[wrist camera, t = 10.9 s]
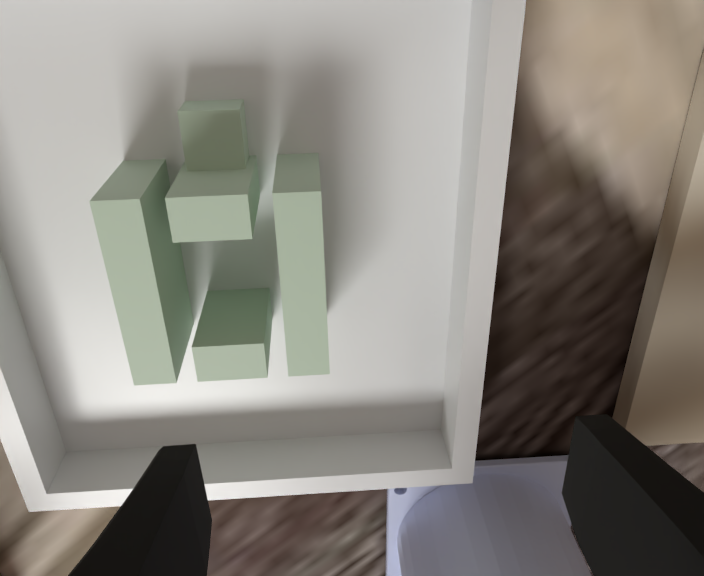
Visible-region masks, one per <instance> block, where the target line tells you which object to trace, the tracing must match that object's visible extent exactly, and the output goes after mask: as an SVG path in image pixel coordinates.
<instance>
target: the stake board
mask: <svg viewBox="0 0 704 576" xmlns="http://www.w3.org/2000/svg"><path fill="white" fill-rule="evenodd" d="M612 419H614V420H615V421H616V422H618V423H619V424H620V425H621V426H622V427H624V428H625V429H626V430H627V431H628V432H630V433H631V434H632V435H633V436H635V437H636V438H637V439H638V440H639V441H641V442H642V443H643V444H644V445H645V446H652V445H668V444H684V443H700V442H704V50H703V54H702V58H701V62H700V66H699V70H698V74H697V78H696V82H695V86H694V90H693V94H692V98H691V102H690V106H689V110H688V114H687V119H686V123H685V127H684V131H683V135H682V139H681V143H680V147H679V151H678V155H677V159H676V163H675V167H674V171H673V175H672V179H671V183H670V187H669V191H668V195H667V199H666V203H665V207H664V211H663V215H662V219H661V223H660V227H659V232H658V236H657V240H656V244H655V248H654V252H653V256H652V260H651V264H650V268H649V272H648V276H647V280H646V284H645V288H644V292H643V296H642V300H641V304H640V308H639V312H638V316H637V320H636V324H635V328H634V332H633V336H632V340H631V344H630V349H629V353H628V357H627V361H626V365H625V369H624V373H623V377H622V381H621V385H620V389H619V393H618V397H617V401H616V405H615V409H614V413H613V417H612Z"/></svg>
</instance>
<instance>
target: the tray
mask: <svg viewBox="0 0 704 576" xmlns="http://www.w3.org/2000/svg"><path fill="white" fill-rule="evenodd" d="M525 7H526V0H0V439H1V442H2V445H3V447H4V450H5V452H6V455H7V457H8V460H9V462H10V465H11V468H12V470H13V473H14V475H15V478H16V480H17V483H18V485H19V488H20V491H21V493H22V496H23V498H24V501H25V503H26V506H27V508H28V511H29V512H35V511H50V510H66V509H81V508H97V507H112V506H122V504H123V503H124V501H125V500H126V498H127V497H128V496H129V494H130V493H131V491H132V490H133V488H134V487H135V485H136V484H137V482H138V481H139V479H140V478H141V476H142V475H143V473H144V472H145V470H146V469H147V467H148V466H149V464H150V463H151V461H152V460H153V458H154V457H155V455H156V454H157V452H158V451H159V450H160V449H161V448H162V447H163V446H172V445H186V444H196V447H197V452H198V456H199V461H200V466H201V471H202V475H203V480H204V485H205V490H206V495H207V499H208V500H221V499H237V498H252V497H268V496H283V495H299V494H315V493H330V492H346V491H361V490H377V489H392V488H408V487H423V486H439V485H454V484H470V483H473V475H474V466H475V457H476V448H477V439H478V430H479V421H480V412H481V403H482V394H483V385H484V376H485V367H486V358H487V349H488V340H489V331H490V322H491V313H492V304H493V295H494V286H495V277H496V268H497V259H498V250H499V241H500V232H501V223H502V214H503V205H504V196H505V187H506V178H507V169H508V160H509V151H510V142H511V133H512V124H513V115H514V106H515V97H516V88H517V79H518V70H519V61H520V52H521V43H522V34H523V25H524V16H525ZM234 99H244V108H245V118H246V128H247V137H248V147H249V156H252V155H256V157H257V167H258V177H259V187H260V199H259V204H258V210H257V216H256V222H255V227H254V233H253V239H243V240H222V241H201V242H180V246H181V251H182V257H183V263H184V269H185V274H186V280H187V286H188V292H189V298H190V303H191V309H192V315H193V321H194V325H193V328H192V332H191V335H190V339H189V342H188V345H187V349H186V352H185V356H184V359H183V363H182V366H181V370H180V373H179V376H178V380H177V383H169V384H152V385H135V386H134V383H133V379H132V375H131V371H130V367H129V362H128V358H127V354H126V350H125V346H124V342H123V338H122V334H121V330H120V325H119V321H118V317H117V313H116V309H115V305H114V301H113V297H112V293H111V288H110V284H109V280H108V276H107V272H106V268H105V264H104V260H103V256H102V251H101V247H100V243H99V239H98V235H97V231H96V227H95V223H94V219H93V214H92V210H91V206H90V202H89V201H90V200H91V199H92V197H93V196H94V195H95V194H96V193H97V191H98V190H99V189H100V188H101V187H102V185H103V184H104V183H105V182H106V181H107V179H108V178H109V177H110V176H111V175H112V173H113V172H114V171H115V170H116V169H117V167H118V166H119V165H120V164H121V163H122V162H123V161H128V160H153V159H166V164H167V170H168V176H169V182H170V187H171V186H172V184H173V182H174V180H175V178H176V177H177V175H178V173H179V171H180V169H181V167H182V166H183V164H184V162H185V157H184V151H183V144H182V138H181V132H180V125H179V119H178V112H177V111H178V110H179V109H180V107H181V106H182V105H183V103H184V102H185V101H206V100H234ZM302 153H319V167H320V182H321V198H322V219H323V241H324V262H325V283H326V304H327V325H328V346H329V367H330V374H324V375H307V376H290V377H288V366H287V355H286V344H285V332H284V321H283V310H282V299H281V287H280V276H279V265H278V253H277V242H276V231H275V219H274V208H273V197H272V191H273V183H274V175H275V167H276V159H277V154H302ZM255 288H269V289H270V299H271V309H272V331H271V343H270V355H269V367H268V378H256V379H238V380H221V381H204V382H198V381H197V375H196V370H195V364H194V358H193V353H192V344H193V340H194V337H195V333H196V330H197V326H198V322H199V319H200V315H201V312H202V308H203V304H204V301H205V297H206V294H207V291H216V290H236V289H255Z"/></svg>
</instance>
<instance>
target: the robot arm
mask: <svg viewBox="0 0 704 576" xmlns="http://www.w3.org/2000/svg"><path fill="white" fill-rule="evenodd" d="M571 524H572V526H573V529H574V532H575V535H576V537H577V540H578V543H579V545H580V548H581V550H582V552H583V554H584V556H585V558H586V560H587V563H588V565H589V567H590V569H591V571H592V573H593V575H594V576H704V492H702V491H701V490H700V489H698V488H697V487H696V486H695V485H693V484H692V483H691V482H690V481H688V480H687V479H686V478H684V477H683V476H682V475H681V474H679V473H678V472H677V471H676V470H675V469H673V468H672V467H671V466H670V465H668V464H667V463H666V462H665V461H664V460H662V459H661V458H660V457H659V456H657V455H656V454H655V453H654V452H653V451H651V450H650V449H649V448H648V447H647V446H645V445H644V444H643V443H642V442H641V441H639V440H638V439H637V438H636V437H635V436H633V435H632V434H631V433H630V432H628V431H627V430H626V429H625V428H624V427H622V426H621V425H620V424H619V423H618V422H616V421H615V420H614V419H612V418H611V417H610V416H609V415H607V414H603V415H589V416H576V417H575V423H574V428H573V434H572V439H571V445H570V450H569V455H561V456H545V457H529V458H513V459H497V460H481V461H475V466H474V475H473V483H470V484H454V485H439V486H423V487H408V488H392V489H387V522H386V576H592V575H591V573H590V570H589V568H588V566H587V564H586V562H585V560H584V557H583V555H582V553H581V551H580V549H579V546H578V544H577V542H576V540H575V538H574V535H573V533H572V531H571V529H570V528H571ZM211 525H212V518H211V514H210V509H209V504H208V499H207V495H206V490H205V485H204V480H203V475H202V471H201V466H200V461H199V456H198V452H197V447H196V444H186V445H172V446H163V447H162V448H161V449H160V450H159V451H158V452H157V454H156V455H155V457H154V458H153V460H152V461H151V463H150V464H149V466H148V467H147V469H146V470H145V472H144V473H143V475H142V476H141V478H140V479H139V481H138V482H137V484H136V485H135V487H134V488H133V490H132V491H131V493H130V494H129V496H128V497H127V498H126V500H125V501H124V503H123V504H122V506H121V507H120V508H119V510H118V511H117V513H116V514H115V515H114V517H113V518H112V519H111V521H110V522H109V523H108V525H107V526H106V528H105V529H104V530H103V532H102V533H101V534H100V536H99V537H98V538H97V540H96V541H95V543H94V544H93V545H92V546H91V548H90V549H89V550H88V552H87V553H86V554H85V555H84V557H83V558H82V559H81V560H80V562H79V563H78V564H77V565H76V567H75V568H74V569H73V570H72V571H71V573H70V574H69V575H68V576H207V567H208V558H209V548H210V536H211Z"/></svg>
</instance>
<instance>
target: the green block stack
mask: <svg viewBox="0 0 704 576" xmlns="http://www.w3.org/2000/svg"><path fill="white" fill-rule="evenodd" d="M177 112H178V119H179V125H180V132H181V138H182V144H183V151H184V157H185V162H184V164H183V166H182V167H181V169H180V171H179V173H178V175H177V177H176V178H175V180H174V182H173V184H172V186H171V187H170V182H169V176H168V170H167V164H166V159H153V160H128V161H123V162H122V163H121V164H120V165H119V166H118V167H117V169H116V170H115V171H114V172H113V173H112V175H111V176H110V177H109V178H108V179H107V181H106V182H105V183H104V184H103V185H102V187H101V188H100V189H99V190H98V191H97V193H96V194H95V195H94V196H93V197H92V199H91V200H90V201H89V202H90V206H91V210H92V214H93V219H94V223H95V227H96V231H97V235H98V239H99V243H100V247H101V251H102V256H103V260H104V264H105V268H106V272H107V276H108V280H109V284H110V288H111V293H112V297H113V301H114V305H115V309H116V313H117V317H118V321H119V325H120V330H121V334H122V338H123V342H124V346H125V350H126V354H127V358H128V362H129V367H130V371H131V375H132V379H133V383H134V386H135V385H152V384H169V383H177V380H178V376H179V373H180V370H181V366H182V363H183V359H184V356H185V352H186V349H187V345H188V342H189V339H190V335H191V332H192V328H193V325H194V321H193V315H192V309H191V303H190V298H189V292H188V286H187V280H186V274H185V269H184V263H183V257H182V251H181V246H180V242H201V241H222V240H243V239H253V233H254V227H255V222H256V216H257V210H258V204H259V199H260V187H259V177H258V167H257V157H256V155H252V156H249V147H248V137H247V128H246V118H245V108H244V99H234V100H206V101H185V102H184V103H183V105H182V106H181V107H180V109H179V110H178V111H177ZM272 197H273V208H274V219H275V231H276V242H277V253H278V265H279V276H280V287H281V299H282V310H283V321H284V332H285V344H286V355H287V366H288V377H290V376H307V375H324V374H330V367H329V346H328V325H327V304H326V283H325V262H324V241H323V219H322V198H321V182H320V167H319V153H302V154H277V159H276V167H275V175H274V183H273V191H272ZM271 331H272V309H271V299H270V289H269V288H255V289H236V290H216V291H207V294H206V297H205V301H204V304H203V308H202V312H201V315H200V319H199V322H198V326H197V330H196V333H195V337H194V340H193V344H192V353H193V358H194V364H195V370H196V375H197V381H198V382H204V381H221V380H238V379H256V378H268V367H269V355H270V343H271Z"/></svg>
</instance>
